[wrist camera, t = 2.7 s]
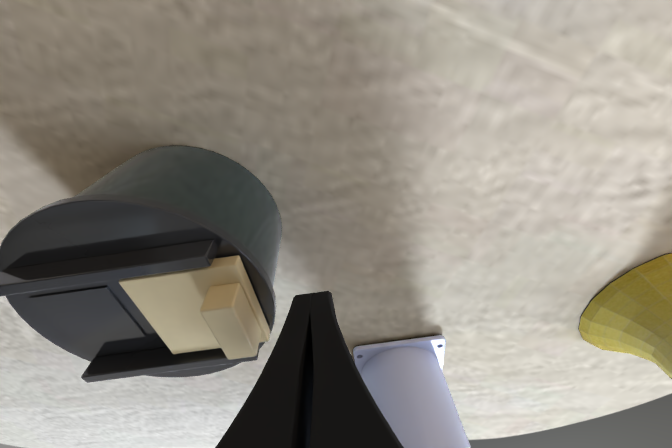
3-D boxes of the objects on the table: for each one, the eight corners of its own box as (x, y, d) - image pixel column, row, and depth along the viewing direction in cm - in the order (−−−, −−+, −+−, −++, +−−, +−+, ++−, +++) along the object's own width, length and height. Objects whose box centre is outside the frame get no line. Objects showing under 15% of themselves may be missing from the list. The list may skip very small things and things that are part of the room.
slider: (239, 254, 11) (227, 289, 9) (270, 330, 13) (265, 367, 12) (125, 270, 11) (96, 307, 10) (178, 343, 14) (160, 381, 12)
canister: (260, 125, 15) (220, 192, 9) (301, 276, 21) (295, 382, 14) (59, 155, 15) (-123, 243, 9) (156, 296, 21) (88, 409, 15)
